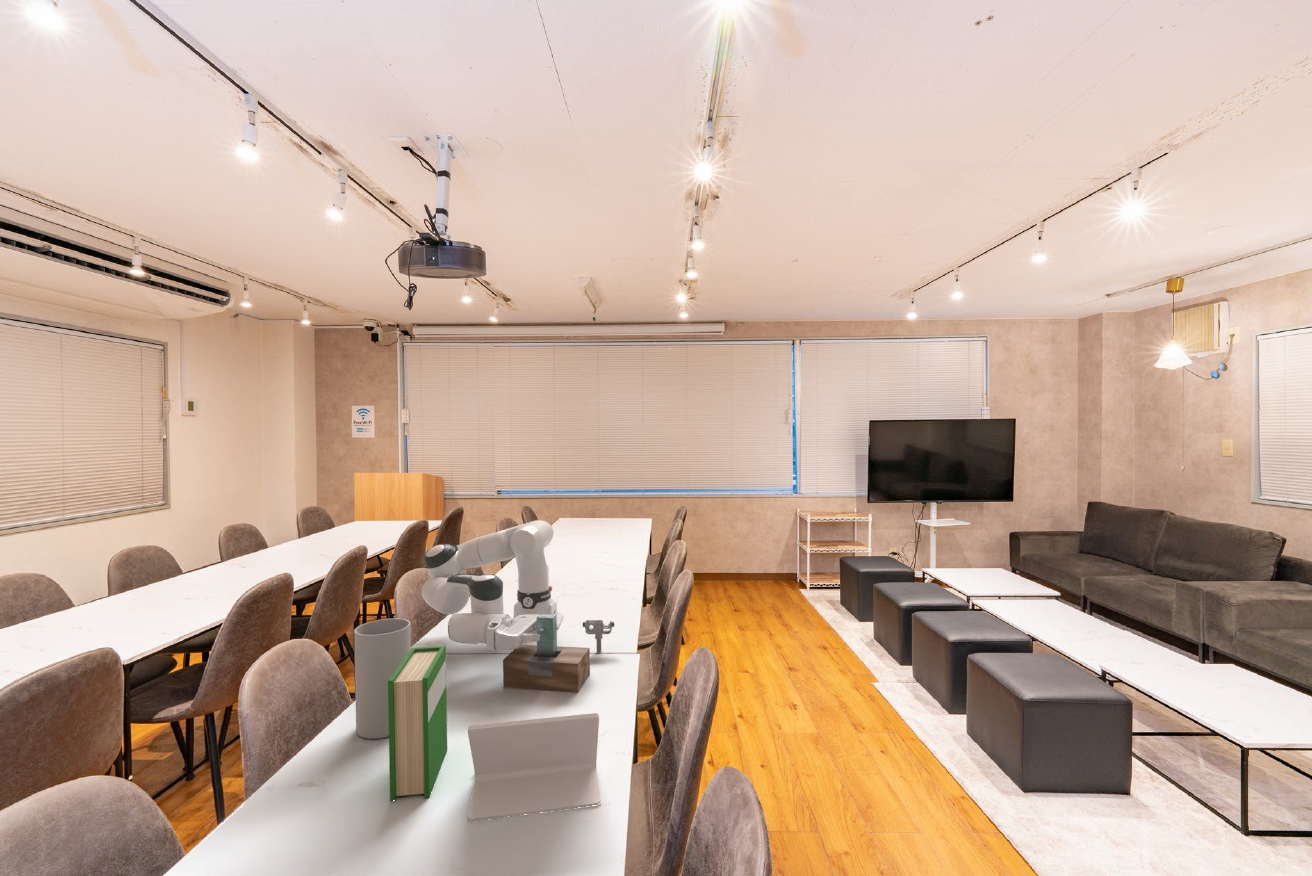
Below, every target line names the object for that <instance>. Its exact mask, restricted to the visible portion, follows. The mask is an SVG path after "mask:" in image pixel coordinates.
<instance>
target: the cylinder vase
mask: <svg viewBox="0 0 1312 876" xmlns="http://www.w3.org/2000/svg"><path fill="white" fill-rule="evenodd" d="M353 631H354V632H353V633H354V679H355V680H354V683H355V685H354V686H355V690H354V691H355V695H354V696H355V731H356V734H357V735H358V736H359V737H361V738H363V739H366V740H380V739H385V738H389V713H388V680H389V679H390V677H391V676H392V675H393V673H394V672H395V670H396V669H397V668H398V666H399V665H400V663H401V662H402V661H403V659H404V658H405V656H406V655H407V654H408V652H409V651H410V649H411V648H412V647H411V645H412V641H411V638H412V637H411V634H412V633H411V621H410V620H408V619H405V618H397V617H396V618H395V617H394V618H384V619H377V620H376V619H375V620H373V621H368V622H365V623H363V624H360V625H357V627H356V628H354V630H353Z"/></svg>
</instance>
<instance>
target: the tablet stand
mask: <svg viewBox="0 0 1312 876" xmlns="http://www.w3.org/2000/svg"><path fill="white" fill-rule="evenodd" d="M599 724H600V715H599V713H597V712H595V713H586V714H585V713H583V714H574V715H563V716H554V717H541V718H532V719H523V720H513V721H502V722H501V721H499V722H491V723H481V724H471V725H468V726H467V735H468V741H469V747H470V752H471V753H470V755H471V759H472V764H473V769H474V777H475V779H474V780H475V781H474V785H473V791H472V795H471V799H470V804H469V808H468V812H467V822H469V823H474V821H476V822H482V821H481V820H484V821H489V820H490V819H492V820H497V818H500V819H505V818H504V817H508V816H516V817H521V816H520V815H524V814H532V815H538V814H537V813H540V812H548V813H551V812H550V811H555V812H560V811H559V810H563V811H566V810H565V809H571V810H575V809H574V808H578V807H586V806H592V805H598V804H599V803H600V802H602V798H601V791H600V784H599V777H598V770H597V769H598V768H597V755H598V744H599V743H598V742H599V730H600V729H599V727H600V725H599ZM540 814H541V813H540ZM524 816H525V815H524ZM508 818H509V817H508ZM488 819H489V820H488ZM490 821H491V820H490Z"/></svg>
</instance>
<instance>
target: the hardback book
mask: <svg viewBox="0 0 1312 876" xmlns="http://www.w3.org/2000/svg"><path fill="white" fill-rule="evenodd" d="M446 649H447V646H446V645H437V646H424V647H423V646H422V647H421V646H420V647H411V649H410V651H409V652H408V654H407V655H406V656H405V658H404V659H403V661H402V662H401V663H400V665H399V666H398V668H397V669H396V670H395V672H394V673H393V675H392V676H391V677H390V679H389V680H388V713H389V737H388V746H389V747H388V754H389V755H388V756H389V758H388V759H389V760H388V763H389V766H388V767H389V802H390V801H393V800H395V799H396V800H397V798H398V797H401V796H402V797H403V796H413V795H421V794H422V795H423V794H424V796H423V797H424V799H430V797H431V795H432V793H431V792H433V790H434V787H435V785H436V781H437V779H438V777H439V773H440V771H441V768H442V765H443V763H444V760H445V757H446V754H447V752H448V714H447V713H448V711H447V710H448V708H447V707H448V705H447V701H448V700H447V650H446ZM434 784H435V785H434ZM396 797H397V798H396Z"/></svg>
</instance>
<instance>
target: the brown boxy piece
mask: <svg viewBox="0 0 1312 876" xmlns="http://www.w3.org/2000/svg"><path fill="white" fill-rule="evenodd" d="M590 652H591V651H590V647H579V646H578V647H577V646H575V647H574V646H560V645H559V646H558V645H557V657H556V658H553V657H537V644H535V645H534V644H522V645H521V646H520V647H519V648H517V649H512V651H511V652H510V653H509V654H507V656H505V657H504V658H503V659H502V673H503V674H502V675H503V677H502V680H503V681H502V682H503V688H504V689H515V690H517V689H519V690H531V691H548V692H550V691H551V692H561V693H562V692H565V693H566V692H567V693H579V692H580V690H581V689H582V688H583V686H584V685H585V683H586V681H587V680H588V679H589V677H590V676H591V668H590V667H591V662H590V661H591V660H590V659H591V658H590V656H591V654H590Z"/></svg>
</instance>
